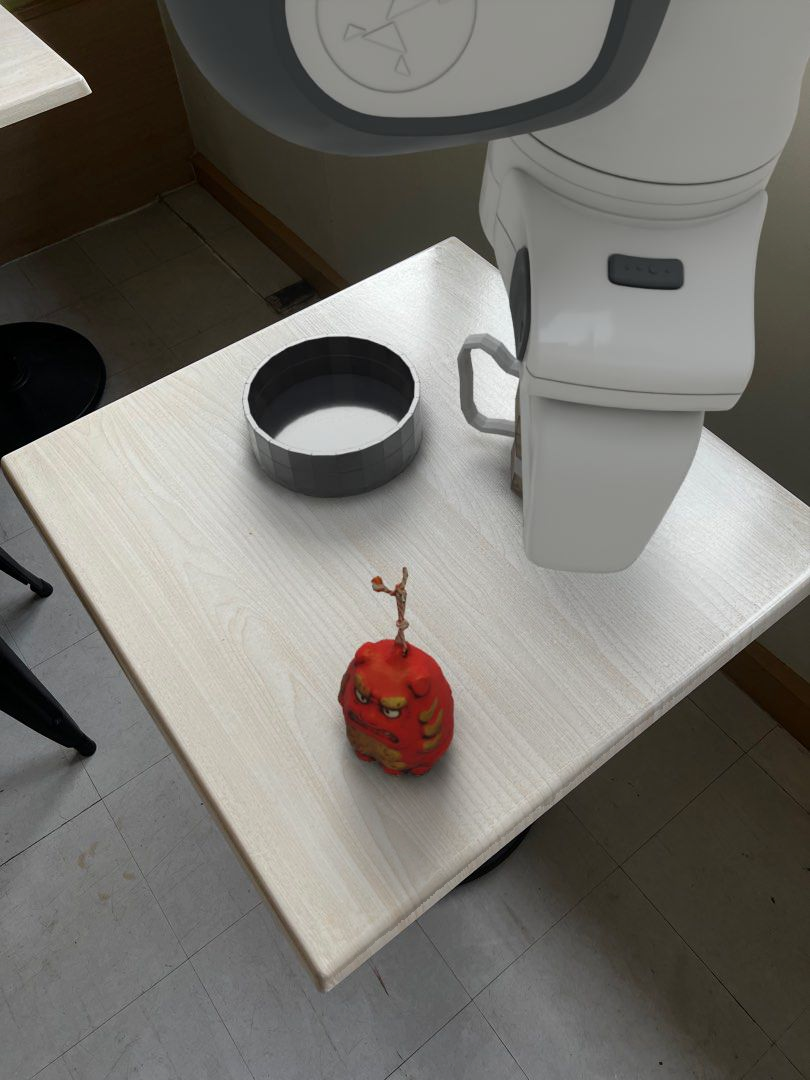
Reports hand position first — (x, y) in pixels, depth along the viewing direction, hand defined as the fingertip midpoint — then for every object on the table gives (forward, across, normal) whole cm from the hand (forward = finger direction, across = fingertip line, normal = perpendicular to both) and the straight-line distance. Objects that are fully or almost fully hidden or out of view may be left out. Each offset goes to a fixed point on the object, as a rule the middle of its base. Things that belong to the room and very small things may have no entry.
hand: (537, 445), depth 41 cm
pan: (+28, -23, -11) cm, 38 cm away
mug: (+26, -20, +6) cm, 34 cm away
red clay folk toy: (+26, +4, -4) cm, 26 cm away
